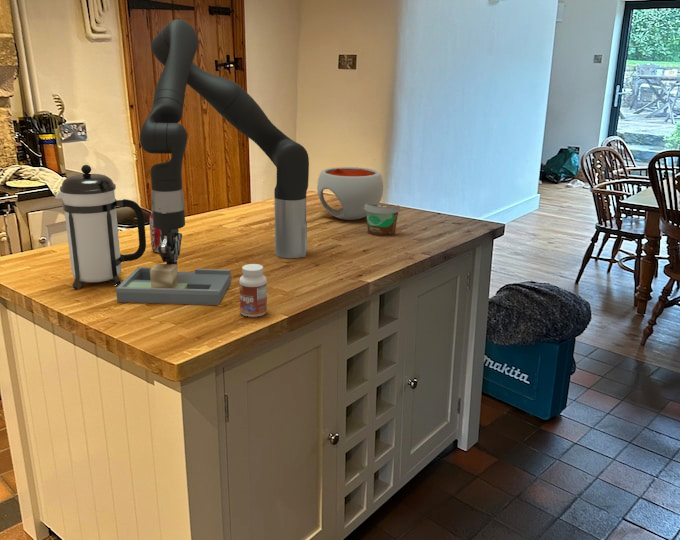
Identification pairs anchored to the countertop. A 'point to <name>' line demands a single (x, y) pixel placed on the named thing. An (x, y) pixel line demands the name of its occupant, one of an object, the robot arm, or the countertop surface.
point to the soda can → (154, 235)
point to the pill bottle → (253, 291)
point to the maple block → (164, 276)
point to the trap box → (189, 290)
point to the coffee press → (96, 227)
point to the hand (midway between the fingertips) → (172, 275)
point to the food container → (381, 219)
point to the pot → (351, 190)
